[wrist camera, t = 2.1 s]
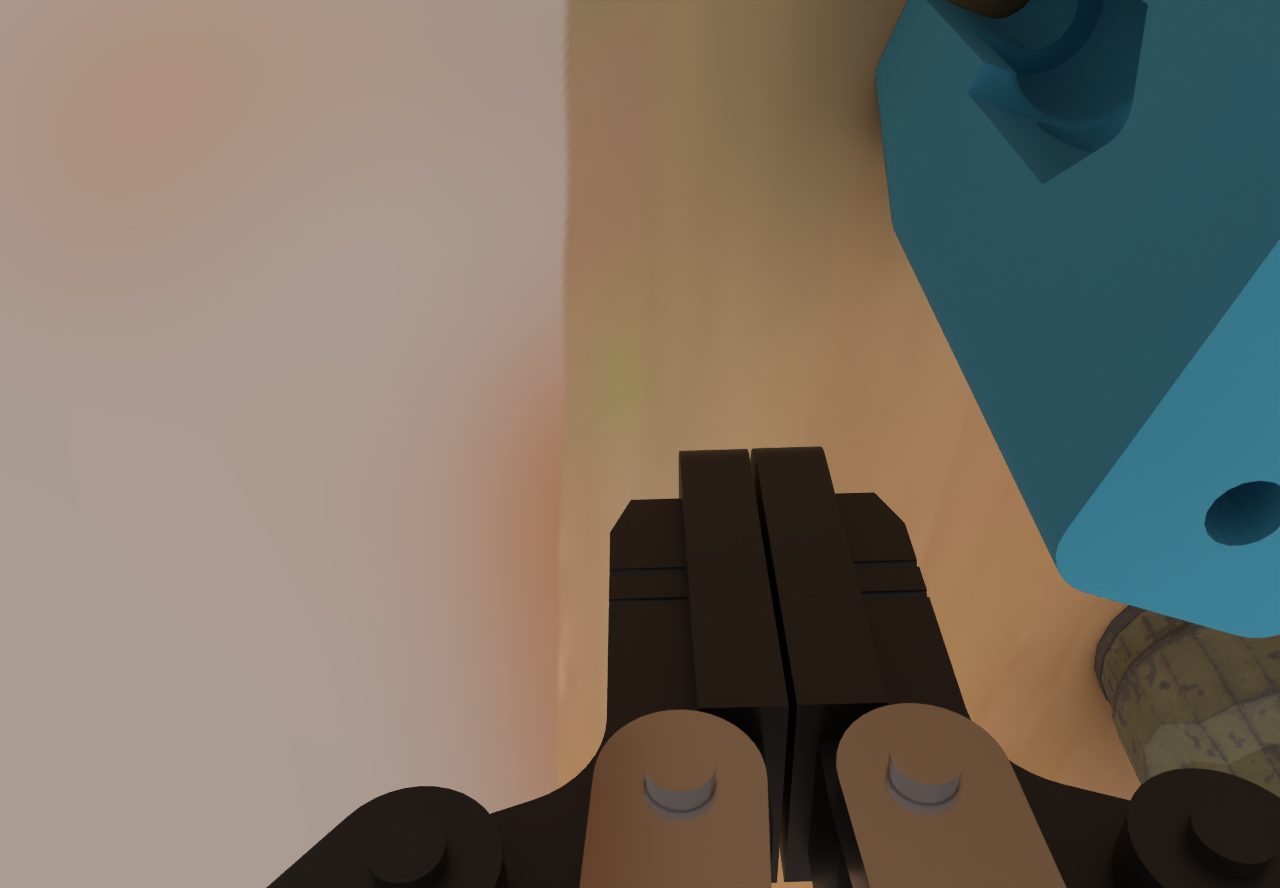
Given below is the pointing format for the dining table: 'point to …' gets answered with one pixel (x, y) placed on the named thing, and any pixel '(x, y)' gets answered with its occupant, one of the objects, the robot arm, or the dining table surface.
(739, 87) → the dining table surface
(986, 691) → the dining table surface
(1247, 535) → the block
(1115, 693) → the olive green pouch
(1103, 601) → the dining table surface
